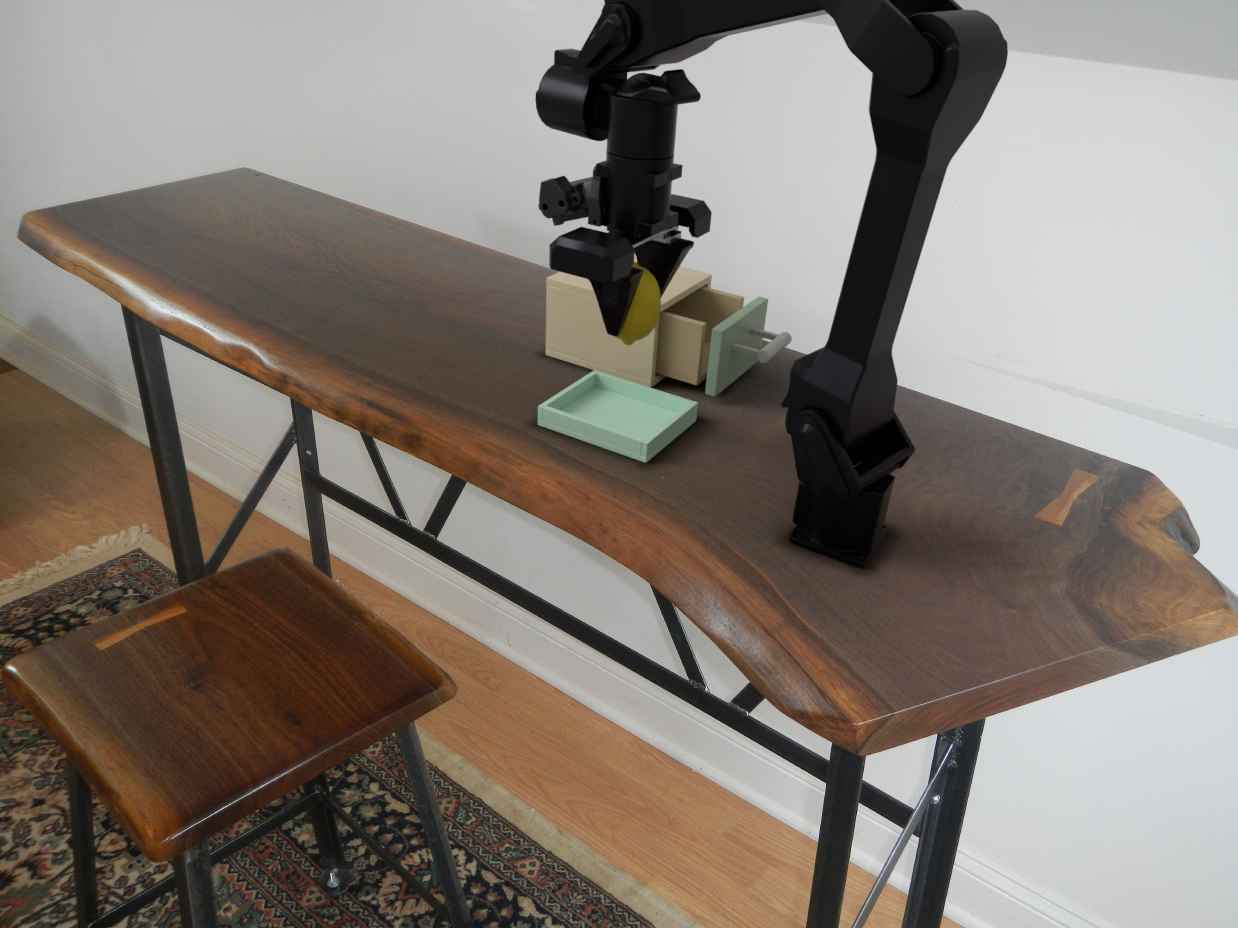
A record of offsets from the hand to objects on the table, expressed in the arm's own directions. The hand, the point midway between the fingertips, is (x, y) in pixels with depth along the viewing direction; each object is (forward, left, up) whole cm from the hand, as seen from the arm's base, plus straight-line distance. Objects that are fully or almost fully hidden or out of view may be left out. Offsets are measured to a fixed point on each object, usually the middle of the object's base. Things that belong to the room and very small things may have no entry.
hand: (629, 325), depth 88 cm
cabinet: (+9, -15, -11) cm, 20 cm away
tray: (+1, 0, -11) cm, 11 cm away
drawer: (-1, -15, -10) cm, 18 cm away
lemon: (0, 0, -2) cm, 2 cm away
